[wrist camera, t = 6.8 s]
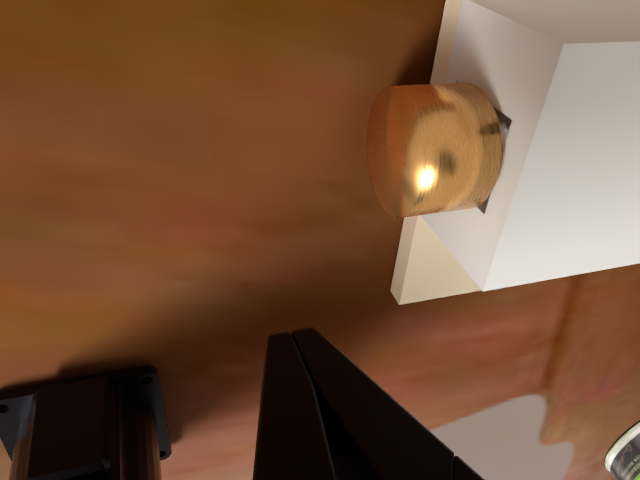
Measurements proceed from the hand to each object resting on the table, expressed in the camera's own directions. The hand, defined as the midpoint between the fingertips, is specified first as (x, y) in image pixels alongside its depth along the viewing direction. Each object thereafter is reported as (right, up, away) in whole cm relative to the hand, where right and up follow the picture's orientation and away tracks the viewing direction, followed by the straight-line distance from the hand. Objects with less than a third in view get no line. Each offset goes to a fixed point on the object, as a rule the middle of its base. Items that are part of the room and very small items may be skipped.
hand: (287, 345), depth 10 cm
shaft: (+9, +7, +10) cm, 15 cm away
